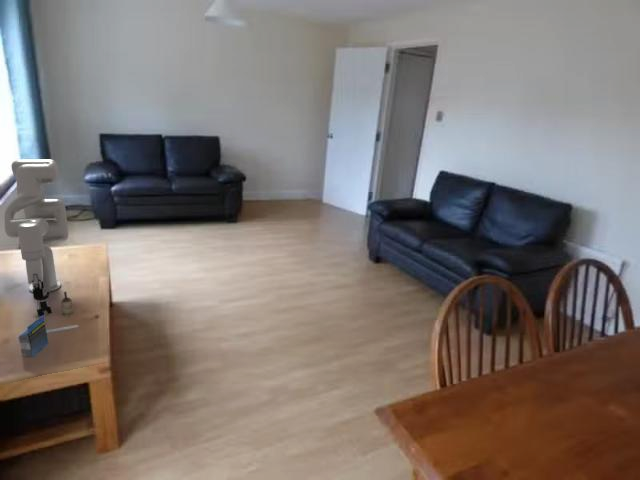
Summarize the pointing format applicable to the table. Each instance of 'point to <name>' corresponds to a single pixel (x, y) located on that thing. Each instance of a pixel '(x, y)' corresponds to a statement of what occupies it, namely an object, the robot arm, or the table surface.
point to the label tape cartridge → (33, 338)
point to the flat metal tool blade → (61, 328)
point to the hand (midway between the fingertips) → (39, 293)
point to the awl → (66, 306)
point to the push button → (43, 305)
